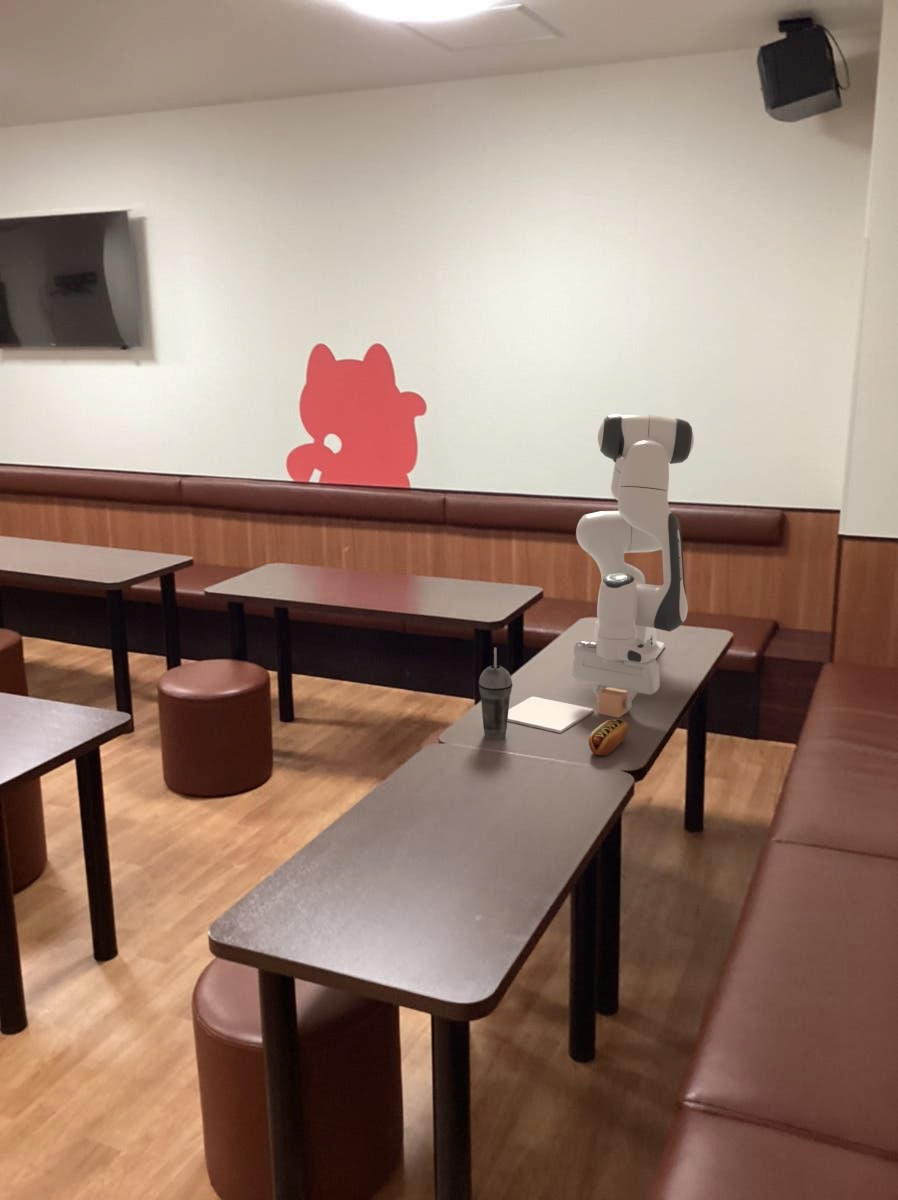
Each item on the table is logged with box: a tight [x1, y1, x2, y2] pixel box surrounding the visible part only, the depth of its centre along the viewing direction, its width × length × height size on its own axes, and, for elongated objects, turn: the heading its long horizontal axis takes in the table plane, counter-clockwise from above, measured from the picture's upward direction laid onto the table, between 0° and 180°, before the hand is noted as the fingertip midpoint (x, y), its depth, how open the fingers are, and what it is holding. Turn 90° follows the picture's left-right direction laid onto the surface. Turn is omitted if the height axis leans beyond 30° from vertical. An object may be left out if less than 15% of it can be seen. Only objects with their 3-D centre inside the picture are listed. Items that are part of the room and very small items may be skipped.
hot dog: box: [588, 717, 628, 756], centre depth 216 cm, size 5×13×5 cm, turn 149°
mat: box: [507, 695, 595, 734], centre depth 235 cm, size 16×16×1 cm
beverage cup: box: [477, 647, 514, 741], centre depth 221 cm, size 7×7×20 cm
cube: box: [598, 687, 630, 718], centre depth 236 cm, size 5×5×5 cm
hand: (613, 705), depth 236 cm, fingers closed on cube, 5 cm apart
